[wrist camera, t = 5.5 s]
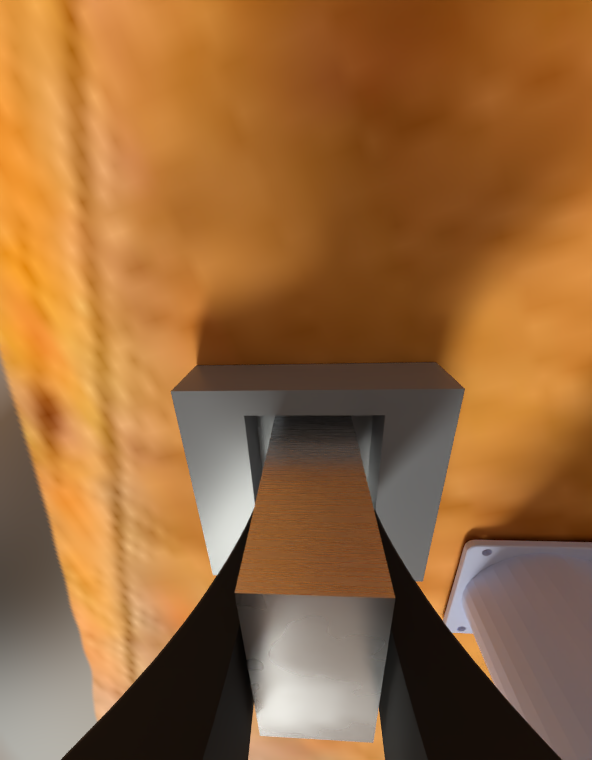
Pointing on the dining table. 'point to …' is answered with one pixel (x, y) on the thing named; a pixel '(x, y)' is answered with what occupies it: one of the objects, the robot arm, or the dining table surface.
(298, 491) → the long block
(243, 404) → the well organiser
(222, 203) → the dining table surface
